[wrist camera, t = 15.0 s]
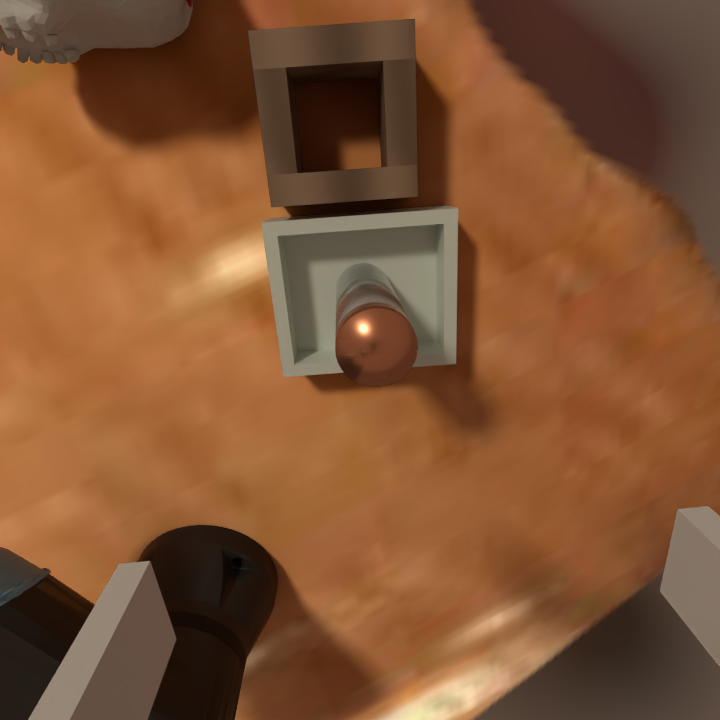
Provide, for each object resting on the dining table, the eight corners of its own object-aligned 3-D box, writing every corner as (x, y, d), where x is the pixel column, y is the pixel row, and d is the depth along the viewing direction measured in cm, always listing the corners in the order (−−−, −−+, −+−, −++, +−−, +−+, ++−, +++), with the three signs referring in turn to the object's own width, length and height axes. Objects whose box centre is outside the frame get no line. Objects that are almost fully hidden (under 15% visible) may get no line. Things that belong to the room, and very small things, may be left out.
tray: (289, 358, 40) (283, 377, 36) (269, 218, 35) (261, 222, 32) (445, 347, 40) (456, 364, 36) (446, 205, 35) (458, 208, 32)
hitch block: (280, 204, 35) (271, 207, 30) (261, 53, 31) (247, 30, 27) (408, 194, 35) (418, 196, 30) (404, 43, 31) (414, 18, 27)
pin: (338, 317, 37) (338, 389, 24) (334, 264, 36) (331, 312, 23) (390, 313, 38) (418, 383, 25) (388, 260, 36) (417, 305, 23)
